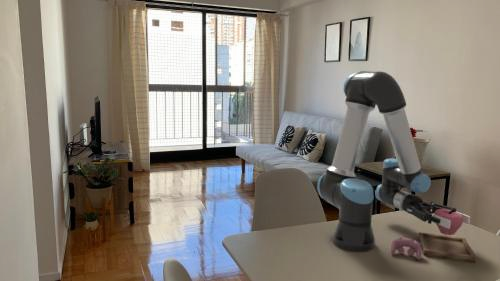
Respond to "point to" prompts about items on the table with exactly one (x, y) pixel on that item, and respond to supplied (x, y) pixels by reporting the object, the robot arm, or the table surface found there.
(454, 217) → the apple
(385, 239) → the table surface
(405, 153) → the robot arm
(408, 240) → the video game controller
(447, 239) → the walnut tray
